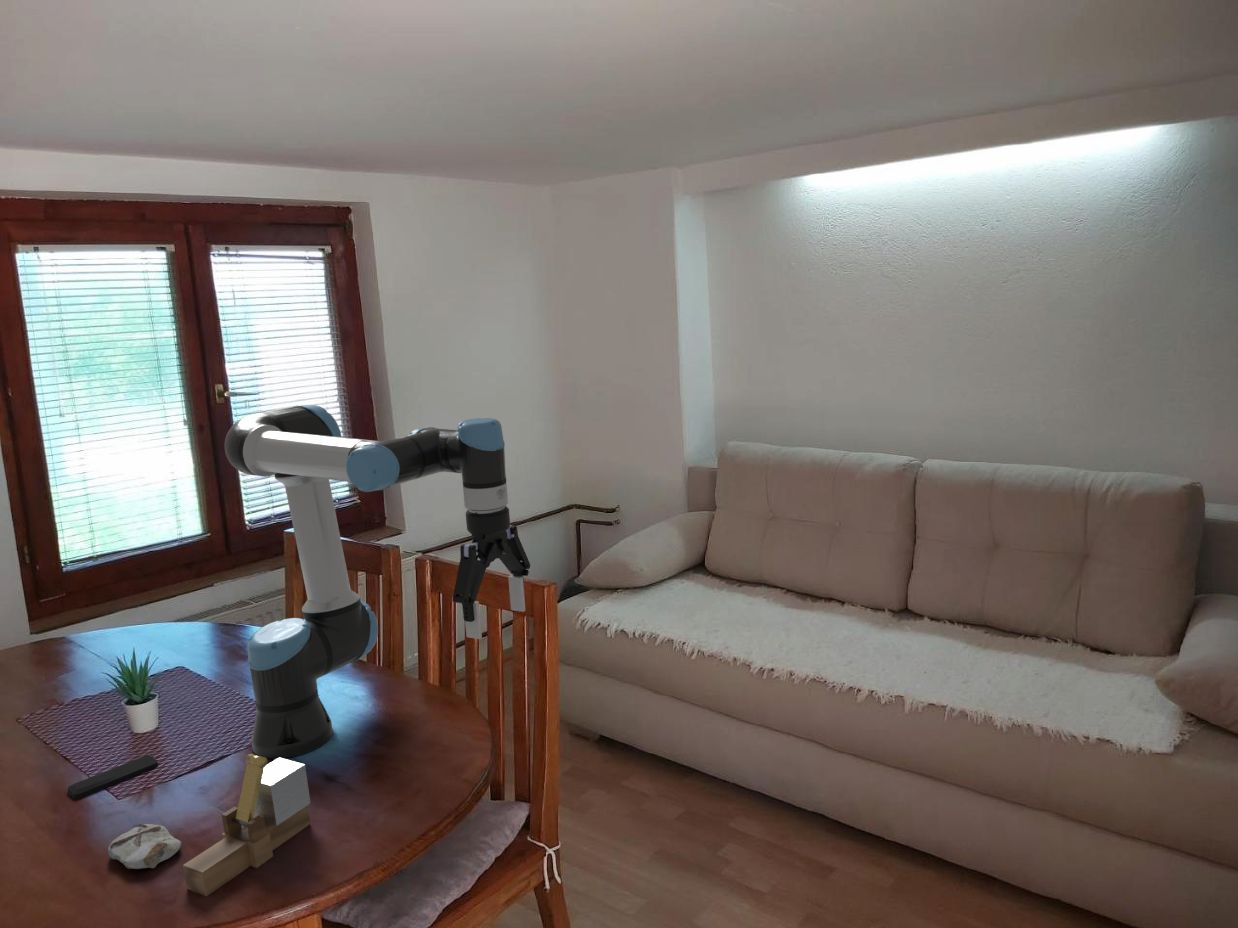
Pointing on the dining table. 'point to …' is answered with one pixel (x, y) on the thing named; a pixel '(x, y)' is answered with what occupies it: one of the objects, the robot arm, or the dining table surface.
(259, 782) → the lever
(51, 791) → the dining table surface
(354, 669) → the dining table surface
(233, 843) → the tan wooden beam joint
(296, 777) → the brushed steel cube
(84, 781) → the remote control
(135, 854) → the stone
